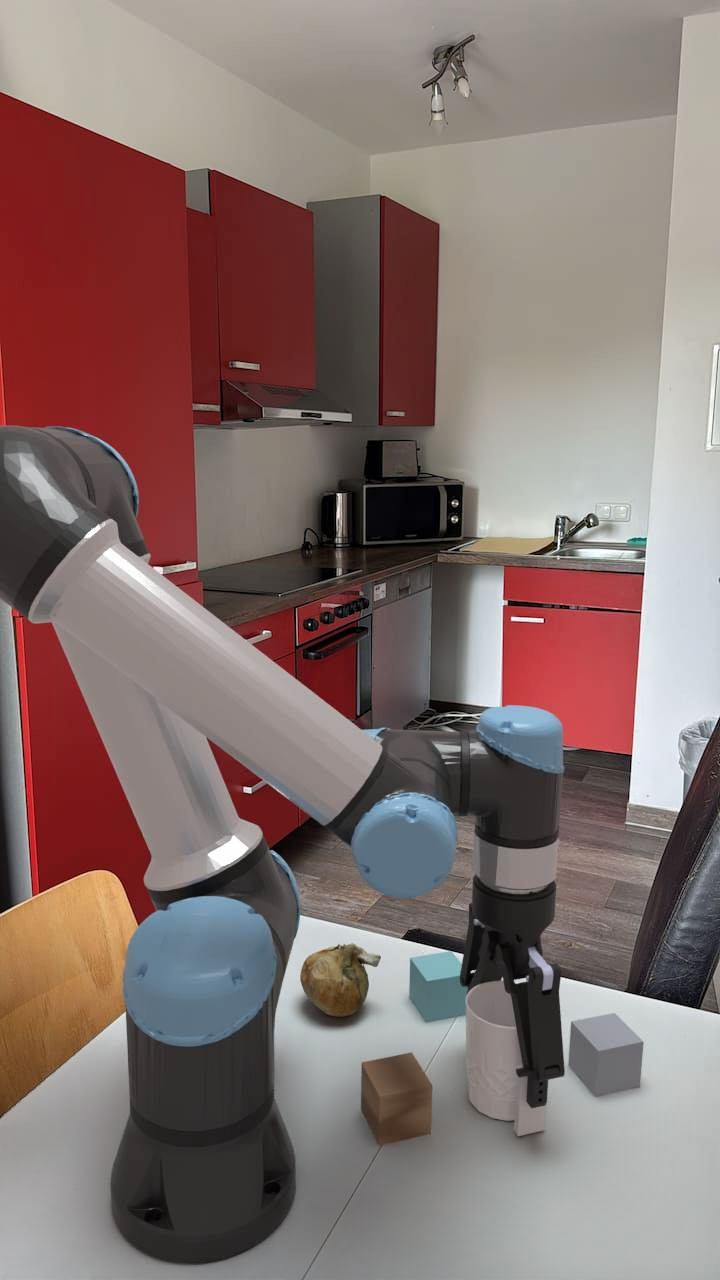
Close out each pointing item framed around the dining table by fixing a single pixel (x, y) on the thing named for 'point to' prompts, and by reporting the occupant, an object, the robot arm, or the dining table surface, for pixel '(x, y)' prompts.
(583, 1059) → the slate grey block
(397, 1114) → the walnut block
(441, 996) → the dusty teal block
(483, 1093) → the white cup
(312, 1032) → the dining table surface
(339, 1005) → the onion
